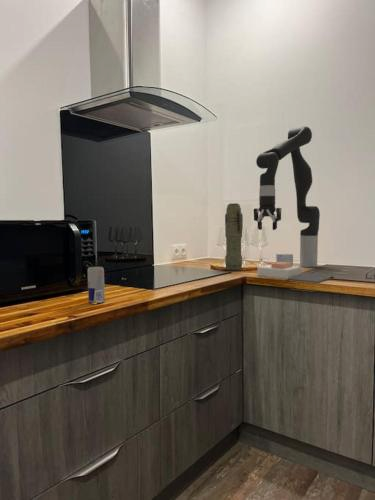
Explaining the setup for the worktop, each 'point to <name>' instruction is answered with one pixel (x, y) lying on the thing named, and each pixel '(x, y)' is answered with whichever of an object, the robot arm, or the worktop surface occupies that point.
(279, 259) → the medicine box
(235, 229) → the thermos
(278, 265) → the tile
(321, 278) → the mat
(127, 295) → the worktop surface
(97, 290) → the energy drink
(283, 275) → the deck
